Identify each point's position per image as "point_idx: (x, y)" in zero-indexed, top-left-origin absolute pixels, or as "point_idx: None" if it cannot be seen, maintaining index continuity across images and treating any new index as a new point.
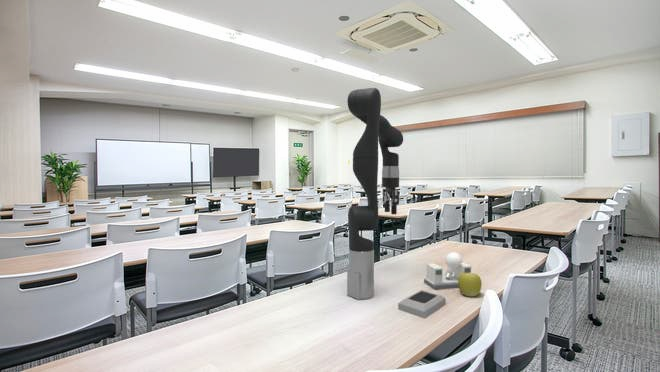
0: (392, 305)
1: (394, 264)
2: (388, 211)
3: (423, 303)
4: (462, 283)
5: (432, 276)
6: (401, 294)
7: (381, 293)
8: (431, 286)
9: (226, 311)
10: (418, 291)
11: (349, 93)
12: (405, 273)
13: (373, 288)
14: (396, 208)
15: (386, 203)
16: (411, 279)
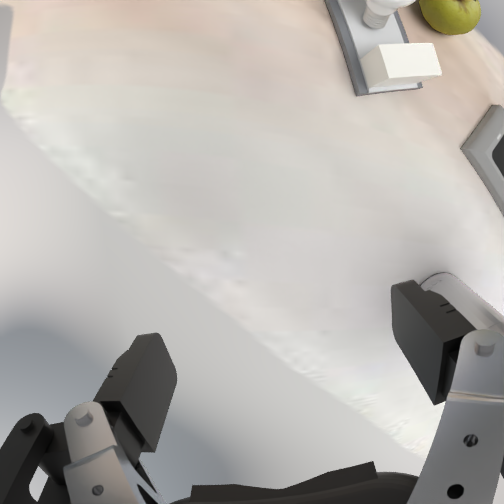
0: (494, 233)
1: (142, 170)
2: (162, 345)
3: None
4: (469, 30)
5: (416, 80)
6: (448, 197)
7: (438, 251)
8: (404, 89)
9: None
10: (493, 165)
11: None
12: (258, 139)
13: (460, 281)
14: (444, 313)
15: (136, 443)
16: (328, 131)
